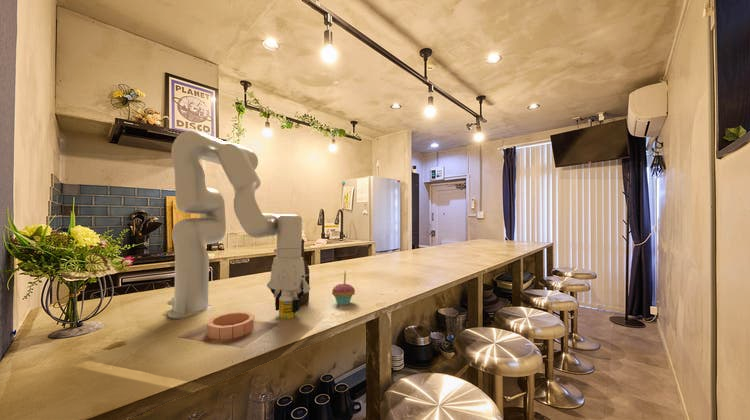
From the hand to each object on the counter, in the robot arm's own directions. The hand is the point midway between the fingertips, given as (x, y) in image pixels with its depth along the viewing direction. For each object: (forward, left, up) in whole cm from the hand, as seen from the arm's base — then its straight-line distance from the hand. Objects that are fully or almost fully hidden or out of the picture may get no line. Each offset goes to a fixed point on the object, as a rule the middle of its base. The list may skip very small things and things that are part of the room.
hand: (287, 309), depth 88 cm
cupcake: (+11, +20, -3) cm, 23 cm away
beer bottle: (-5, +15, -3) cm, 16 cm away
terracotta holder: (-9, -14, -2) cm, 17 cm away
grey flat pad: (-9, -14, -3) cm, 17 cm away
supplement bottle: (0, 0, -3) cm, 3 cm away
